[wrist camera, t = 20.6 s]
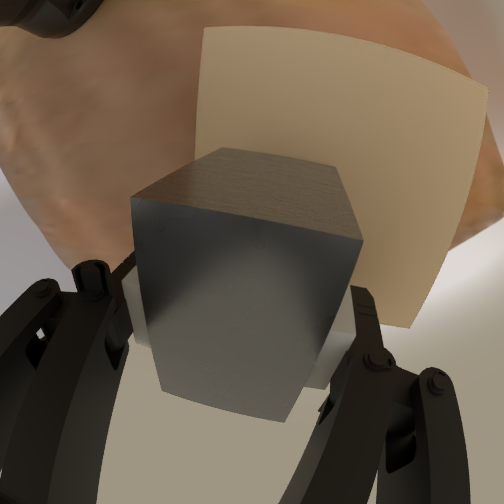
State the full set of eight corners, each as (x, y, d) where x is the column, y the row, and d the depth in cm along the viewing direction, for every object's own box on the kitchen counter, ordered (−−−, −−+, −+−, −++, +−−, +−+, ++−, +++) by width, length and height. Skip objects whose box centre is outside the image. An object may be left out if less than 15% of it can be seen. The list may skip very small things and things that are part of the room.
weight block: (222, 147, 12) (130, 196, 6) (335, 166, 11) (363, 240, 5) (212, 290, 16) (161, 390, 10) (299, 309, 15) (284, 422, 9)
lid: (210, 31, 12) (204, 27, 11) (480, 88, 10) (488, 88, 9) (200, 278, 21) (195, 285, 20) (407, 319, 18) (409, 328, 18)
